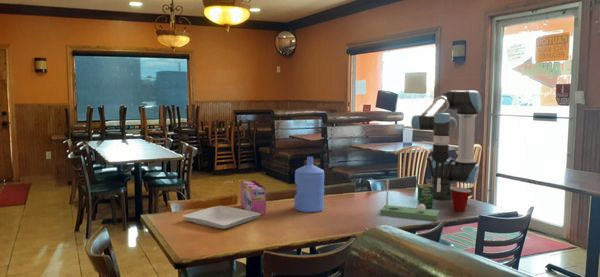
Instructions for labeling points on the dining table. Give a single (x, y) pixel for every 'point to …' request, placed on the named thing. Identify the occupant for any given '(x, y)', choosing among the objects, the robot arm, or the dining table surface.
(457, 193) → the plastic cup
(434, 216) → the putting mat
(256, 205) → the gum box
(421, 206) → the ball
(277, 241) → the dining table surface
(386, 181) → the flag pin
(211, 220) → the square plate
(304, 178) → the water jug
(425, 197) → the coffee box
